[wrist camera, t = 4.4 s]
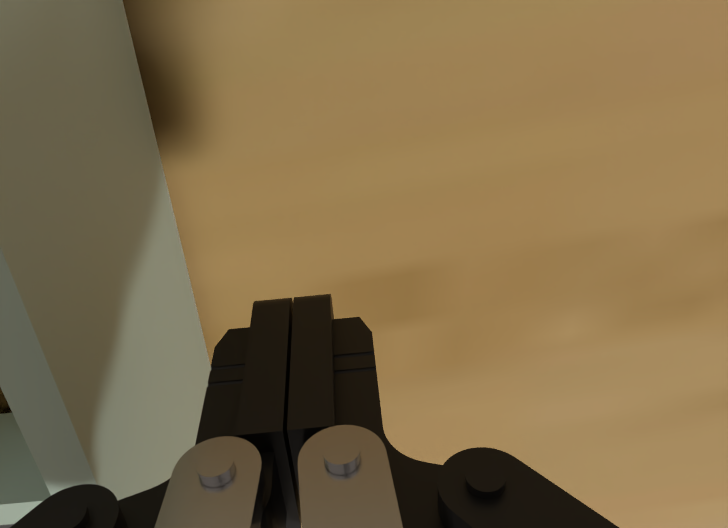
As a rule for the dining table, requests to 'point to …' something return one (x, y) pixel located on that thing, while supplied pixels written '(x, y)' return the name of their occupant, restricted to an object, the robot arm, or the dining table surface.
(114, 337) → the crate
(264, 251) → the dining table surface
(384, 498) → the robot arm
